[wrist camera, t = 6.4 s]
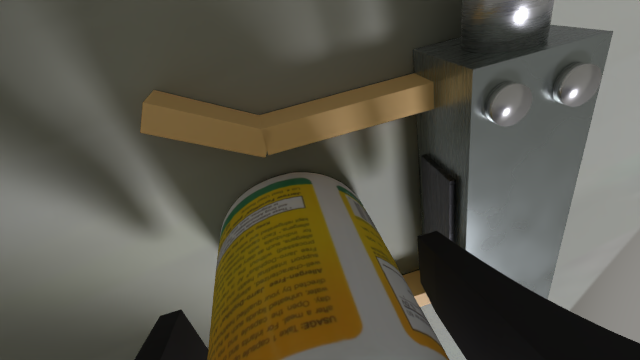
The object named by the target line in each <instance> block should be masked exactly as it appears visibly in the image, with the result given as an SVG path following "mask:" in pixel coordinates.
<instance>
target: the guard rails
mask: <svg viewBox="0 0 640 360" xmlns="http://www.w3.org/2000/svg"><path fill="white" fill-rule="evenodd" d="M432 109H434V84H433V82H432V81H430V80H428V79H426V78H424V77H422V76H419V75H417V74H415V73H413V74H409V75H406V76H402V77H398V78H394V79H391V80H387V81H383V82H380V83H376V84H372V85H369V86H365V87H361V88H358V89H354V90H350V91H347V92H343V93H339V94H335V95H332V96H328V97H324V98H321V99H317V100H313V101H310V102H306V103H302V104H299V105H295V106H291V107H288V108H284V109H280V110H276V111H273V112H269V113H265V114H262V115H256V114H252V113H248V112H244V111H239V110H235V109H231V108H227V107H223V106H219V105H215V104H210V103H206V102H202V101H198V100H194V99H190V98H185V97H181V96H177V95H173V94H169V93H165V92H160V91H156V90H153V92H152V93H151V94H150V95H149V96H148V97H147V98H146V99H145V101H144V102H143V106H142V118H141V129H140V133H144V134H149V135H154V136H159V137H164V138H169V139H174V140H179V141H184V142H189V143H194V144H199V145H204V146H209V147H214V148H219V149H224V150H229V151H234V152H239V153H244V154H249V155H254V156H259V157H264V158H265V157H266V153H267V151H268V154H269V155H272V154H275V153H279V152H282V151H286V150H289V149H293V148H296V147H300V146H304V145H307V144H311V143H314V142H318V141H321V140H325V139H329V138H332V137H336V136H339V135H343V134H346V133H350V132H353V131H357V130H361V129H364V128H368V127H371V126H375V125H378V124H382V123H386V122H389V121H393V120H396V119H400V118H403V117H407V116H410V115H414V114H418V113H421V112H425V111H428V110H432ZM402 276H403V278H404V279H405V281H406V283H407V285H408V287H409V288H410V290H411V292H412V294H413V295H414V297H415V299H416V301H417V303H418V305H419V306H420V307H421V306H424V305H427V304H430V303H431V302H430V300H429V298H428V296H427V294H426V292H425V290H424V288H423V286H422V284H421V282H420V270H418V271H415V272H411V273H408V274H405V275H402Z"/></svg>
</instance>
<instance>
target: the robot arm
mask: <svg viewBox="0 0 640 360" xmlns="http://www.w3.org/2000/svg"><path fill="white" fill-rule="evenodd" d="M418 252H419V267H420V282H421V284H422V286H423V288H424V290H425V292H426V294H427V296H428V298H429V300H430V302H431V304H432V306H433V308H434V310H435V312H436V313H437V315H438V317H439V318H440V320H441V321H442V323H443V324H444V326H445V327H446V329H447V330H448V332H449V333H450V335H451V336H452V338H453V339H454V341H455V343H456V344H457V346H458V347H459V349H460V350H461V352H462V353H463V355H464V356H465V358H466V359H467V360H640V344H639V343H637V342H635V341H633V340H630V339H628V338H626V337H623V336H621V335H618V334H616V333H614V332H612V331H610V330H607V329H605V328H603V327H601V326H599V325H596V324H595V323H593V322H591V321H588V320H586V319H584V318H582V317H580V316H578V315H576V314H574V313H572V312H570V311H568V310H566V309H564V308H562V307H561V306H559V305H557V304H555V303H553V302H551V301H549V300H547V299H546V298H544V297H542V296H540V295H538V294H537V293H535V292H533V291H531V290H529V289H528V288H526V287H524V286H522V285H521V284H519V283H517V282H516V281H514V280H512V279H511V278H509V277H507V276H506V275H504V274H502V273H501V272H499V271H498V270H496V269H494V268H493V267H491V266H489V265H488V264H486V263H485V262H483V261H482V260H480V259H479V258H477V257H476V256H474V255H472V254H471V253H469V252H468V251H466V250H465V249H463V248H462V247H460V246H459V245H457V244H456V243H455V242H453V241H452V240H450V239H449V238H447V237H446V236H444V235H443V234H441V233H440V232H438V231H434V232H430V233H427V234H424V235H421V236H418ZM207 358H208V349H207V347H206V346H205V344H204V343H203V341H202V340H201V338H200V337H199V335H198V334H197V332H196V331H195V329H194V328H193V326H192V325H191V323H190V322H189V320H188V319H187V317H186V316H185V314H184V313H183V311H182V310H178V311H175V312H172V313H169V314H165V315H162V316H160V317H159V319H158V321H157V322H156V324H155V326H154V327H153V329H152V331H151V332H150V334H149V336H148V337H147V339H146V341H145V343H144V344H143V346H142V348H141V349H140V351H139V353H138V355H137V356H136V358H135V360H207Z"/></svg>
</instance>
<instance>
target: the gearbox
mask: <svg viewBox="0 0 640 360" xmlns="http://www.w3.org/2000/svg"><path fill="white" fill-rule="evenodd" d="M553 4H554V0H462V32H461V37H460V38H456V39H452V40H448V41H445V42H441V43H437V44H433V45H430V46H426V47H422V48H418V49H414V50H413V57H414V73H415V74H417V75H419V76H422V77H424V78H426V79H428V80H430V81H432V82H433V84H434V109H432V110H428V111H425V112H421V113H418V114H417V133H418V152H419V171H420V190H421V209H422V228H423V235H424V234H427V233H430V232H434V231H438V232H440V233H441V234H443V235H444V236H446V237H447V238H449V239H450V240H452V241H453V242H455V243H456V244H457V245H459V246H460V247H462V248H463V249H465V250H466V251H468V252H469V253H471V254H472V255H474V256H476V257H477V258H479V259H480V260H482V261H483V262H485V263H486V264H488V265H489V266H491V267H493V268H494V269H496V270H498V271H499V272H501V273H502V274H504V275H506V276H507V277H509V278H511V279H512V280H514V281H516V282H517V283H519V284H521V285H522V286H524V287H526V288H528V289H529V290H531V291H533V292H535V293H537V294H538V295H540V296H542V297H544V298H546V299H548V295H549V291H550V287H551V283H552V279H553V275H554V271H555V267H556V263H557V258H558V254H559V250H560V246H561V242H562V238H563V234H564V230H565V226H566V222H567V218H568V214H569V209H570V205H571V201H572V197H573V193H574V189H575V185H576V181H577V177H578V173H579V169H580V164H581V160H582V156H583V152H584V148H585V144H586V140H587V136H588V132H589V128H590V124H591V120H592V115H593V111H594V107H595V103H596V99H597V95H598V91H599V87H600V83H601V79H602V75H603V70H604V66H605V62H606V58H607V54H608V50H609V46H610V42H611V38H612V34H613V31H606V30H596V29H586V28H577V27H567V26H557V25H550V24H551V17H552V10H553Z"/></svg>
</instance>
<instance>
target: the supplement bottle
mask: <svg viewBox="0 0 640 360" xmlns="http://www.w3.org/2000/svg"><path fill="white" fill-rule="evenodd" d="M207 360H449V358H448V357H447V355H446V353H445V351H444V349H443V347H442V345H441V344H440V342H439V340H438V338H437V336H436V334H435V333H434V331H433V329H432V327H431V326H430V324H429V322H428V320H427V319H426V317H425V315H424V313H423V312H422V310H421V308H420V306H419V305H418V303H417V301H416V299H415V297H414V295H413V294H412V292H411V290H410V288H409V287H408V285H407V283H406V281H405V279H404V278H403V276H402V274H401V272H400V270H399V268H398V266H397V265H396V263H395V261H394V259H393V257H392V256H391V254H390V252H389V250H388V249H387V247H386V245H385V243H384V242H383V240H382V238H381V236H380V234H379V232H378V231H377V229H376V227H375V225H374V223H373V222H372V220H371V218H370V217H369V215H368V213H367V212H366V210H365V209H364V207H363V205H362V203H361V201H360V200H359V199H358V197H357V196H356V195H355V194H354V193H353V192H352V191H351V190H350V189H349V188H348V187H347V186H346V185H344V184H343V183H341V182H339V181H337V180H335V179H333V178H331V177H328V176H325V175H321V174H317V173H308V172H295V173H289V174H284V175H280V176H277V177H274V178H271V179H268V180H266V181H264V182H261V183H259V184H257V185H255V186H254V187H252V188H251V189H249V190H248V191H246V192H245V193H244V194H243V195H241V196H240V197H239V198H238V199H237V201H236V202H235V203H234V204H233V205H232V207H231V208H230V210H229V211H228V213H227V215H226V217H225V219H224V221H223V225H222V228H221V233H220V242H219V249H218V259H217V267H216V276H215V286H214V296H213V307H212V318H211V328H210V339H209V350H208V358H207Z"/></svg>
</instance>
